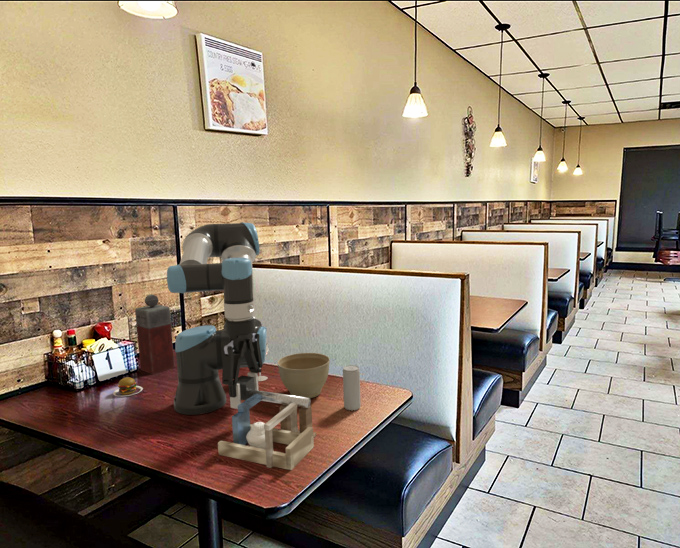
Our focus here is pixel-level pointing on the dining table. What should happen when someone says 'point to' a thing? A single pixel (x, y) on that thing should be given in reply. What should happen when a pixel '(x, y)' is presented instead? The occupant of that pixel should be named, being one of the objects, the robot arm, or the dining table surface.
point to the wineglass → (260, 378)
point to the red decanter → (154, 336)
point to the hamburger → (127, 387)
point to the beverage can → (351, 387)
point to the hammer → (252, 398)
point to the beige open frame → (296, 441)
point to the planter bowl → (304, 373)
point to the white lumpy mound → (256, 435)
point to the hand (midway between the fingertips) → (245, 401)
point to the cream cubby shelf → (304, 419)
